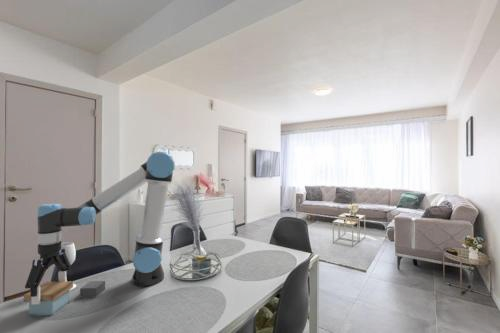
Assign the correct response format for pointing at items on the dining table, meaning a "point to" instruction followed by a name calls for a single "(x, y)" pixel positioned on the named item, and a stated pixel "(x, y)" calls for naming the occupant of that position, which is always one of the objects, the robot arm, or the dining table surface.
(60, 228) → the robot arm
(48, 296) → the lid
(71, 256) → the wineglass
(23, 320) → the dining table surface
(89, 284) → the gray square block
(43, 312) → the dish
